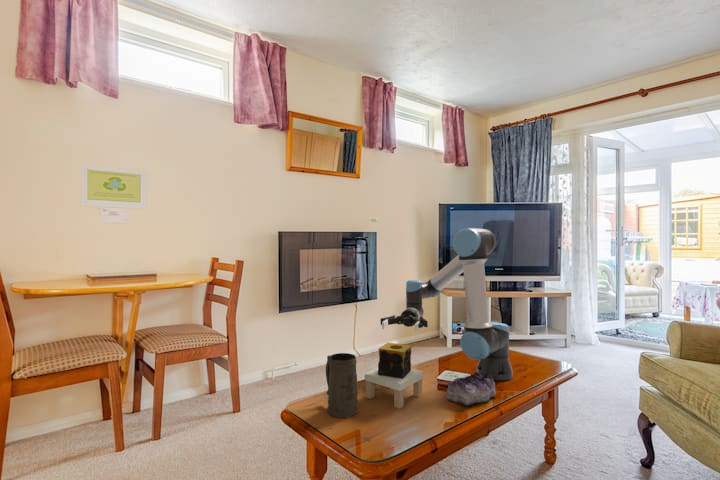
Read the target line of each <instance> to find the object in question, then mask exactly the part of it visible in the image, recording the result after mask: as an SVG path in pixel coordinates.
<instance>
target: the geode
mask: <svg viewBox="0 0 720 480" xmlns="http://www.w3.org/2000/svg"><path fill="white" fill-rule="evenodd" d="M496 393H497V391H496V383H495V380H494V379H493V376H492V375H491V376H490V374H489V375H488V376H482V375H480V374H479V375H478V374H475V373H473V374H470V375H468V376H465V377H460V378H459V377H457V378H454V379H453V381H450V382H449V383H448V385H447V390H446V398H447V401H451V402H454V403H458V404H461V405H463V406H471V405H474V404H481V403H488V402H490V399H496Z"/></svg>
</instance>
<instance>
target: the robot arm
mask: <svg viewBox="0 0 720 480" xmlns="http://www.w3.org/2000/svg"><path fill="white" fill-rule="evenodd" d="M496 244H497V239H496V236H495V235H494V234H493V232H492V231H491V230H489V229H487V228H483V227H481V228H477V227H468V228H462V229H460V230H459V231H458V232H456V234H455V235H454V237H453V240H452V246H453V247H452V249H453V250H454V253H456V254H457V255H456V256H455V257H454V258H453V259H452V260H451V261H449V262H448V263H447V264H446V265H444V267H442V268H441V269H440V270H439V271H438V272H437V273H436V274H434V275H433V276H432V277H431V278H430V279H428V281H426V282H423V281H421V280H420V279H418V280H417V279H409V280H407V281H406V283H405V284H406V285H405V286H406V287H405V295H406V296H405V297H406V299H405V302H406V305H405V307H406V309H405V310H403V311H402V312H401V314H400V315H397V316H396V315H391V316H388V317H387V316H386V317H382V318H380V325H381V329H382V330H385V329H387V328H388V326H390V325H391V326H392V325H403V326H405V327H413V326H414V331H415V332H418V330H419V329H420V328H421V329H422V328H428V326H429V325H428V322H429V320H427V319H425V318H424V317H423V316H424V308H423V299H429V298H435V297H437V296H439V295H440V294H441V292H442V290H443V289H444V288H445V287H447V286H448V285H449V284H450V283H452V282H453V281H454V280H455V279H457V278H458V277H459V276H460V275H461V274H463V278H464V279H463V280H464V292H465V294H464V295H465V306H466V307H465V308H466V319H467V321H466V322H465V324H463V328H464V329H463V330H464V333H463V334H462V336H461V337H460V341H459V344H460V349H461V350H462V352H463V354H465V355H466V356H467V357H468V358H470V359H472V360H475V361H478V364H477V366H476V375H479V374H480V375H482V376H488V375H489V374H490V376H491V375H492V376H493V379H494V381H508V380H512V379H513V376H514V375H513V374H514V371H513V367H512V364H511V362H510V355H509V353H510V327H509V325H508V324H507V323H502V322H497V321H489V310H488V299H487V298H488V296H487V285H486V284H487V282H486V281H487V280H486V272H485V264H486V262H487V261H488V260H489V259H488V255H490V254H491V253H492V252H493V251H494V250H495V247H496Z"/></svg>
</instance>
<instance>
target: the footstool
mask: <svg viewBox="0 0 720 480" xmlns="http://www.w3.org/2000/svg"><path fill="white" fill-rule="evenodd" d="M423 379H424V371H421V370H418V369H413V368H411V371H410V372H409V373H408V374H407V375H406V376H405V377H404V378H403V379H402V378H396V377H389V376H384V375H378V367H376V368H374V369H372V370H369V371H368V372H365V373H364V381H365V398H367V399H371V400H372V399H373V398H375V390H376V389H375V384H376V385H380V386H382V387H385V388H387V389H392V390H394V393H393V394H394V396H393V407H394V408H396V409H399V410H400V409H402V408H403V407H404V398H405V397H404V393H405V392H404V391H405V389H407V388H409V387H410V386H412V390H413V394H412V395H413V396H414V397H417V398H419V397H422V396H423Z"/></svg>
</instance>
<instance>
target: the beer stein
mask: <svg viewBox="0 0 720 480" xmlns="http://www.w3.org/2000/svg"><path fill="white" fill-rule="evenodd" d="M356 357H357V356H356V354H355V355H354V354H353V353H345V352H339V353H333V354H331V355H327V356H326V358H327V360H326V365H325V378H326V382H327V384H326V385H327V391H326V395H328V397H327V404H328V405H327V408H326V409H327V411H326V412H327V414H328V415H330V416H332V417H334V418H338V419H339V418H341V419H343V418H344V419H345V418H350V417H352V416H354V415H356V414H357V413H358V406H357V405H358V395H359V394H358V393H359V392H358V374H357V358H356Z"/></svg>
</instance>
